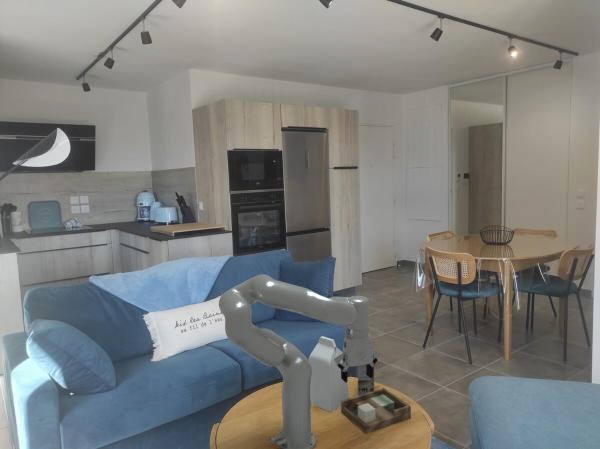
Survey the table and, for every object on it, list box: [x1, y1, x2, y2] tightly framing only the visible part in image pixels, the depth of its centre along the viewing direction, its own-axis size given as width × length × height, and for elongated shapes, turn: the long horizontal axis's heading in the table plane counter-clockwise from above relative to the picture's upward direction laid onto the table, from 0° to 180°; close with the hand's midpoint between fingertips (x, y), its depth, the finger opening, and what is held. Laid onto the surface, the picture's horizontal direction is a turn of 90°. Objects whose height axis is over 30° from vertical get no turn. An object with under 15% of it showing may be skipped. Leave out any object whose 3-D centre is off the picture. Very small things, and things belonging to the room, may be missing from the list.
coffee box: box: [357, 354, 375, 396], centre depth 182 cm, size 9×6×16 cm
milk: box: [308, 335, 350, 413], centre depth 176 cm, size 12×12×26 cm
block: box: [358, 403, 376, 423], centre depth 160 cm, size 4×4×4 cm
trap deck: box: [340, 387, 412, 434], centre depth 166 cm, size 20×16×4 cm
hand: (356, 378), depth 157 cm, fingers open, 9 cm apart
